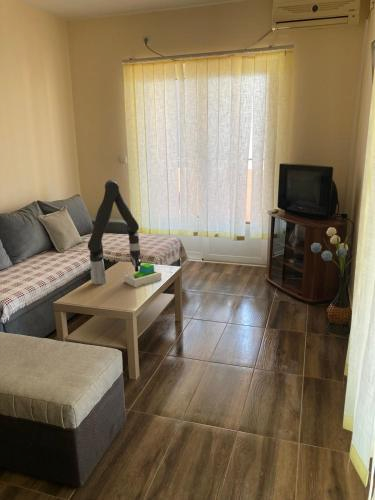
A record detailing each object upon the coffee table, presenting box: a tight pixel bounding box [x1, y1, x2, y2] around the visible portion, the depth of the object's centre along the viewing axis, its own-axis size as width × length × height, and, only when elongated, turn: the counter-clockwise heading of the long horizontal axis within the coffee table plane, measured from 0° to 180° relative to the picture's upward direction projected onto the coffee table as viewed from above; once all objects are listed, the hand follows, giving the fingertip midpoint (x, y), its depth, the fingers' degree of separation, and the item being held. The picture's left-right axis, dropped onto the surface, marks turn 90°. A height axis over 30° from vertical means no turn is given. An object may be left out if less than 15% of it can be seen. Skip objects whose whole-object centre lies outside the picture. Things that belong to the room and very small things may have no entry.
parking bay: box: [123, 269, 162, 288], centre depth 286 cm, size 22×15×5 cm
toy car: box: [133, 262, 155, 279], centre depth 288 cm, size 10×13×10 cm
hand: (136, 271), depth 292 cm, fingers closed
